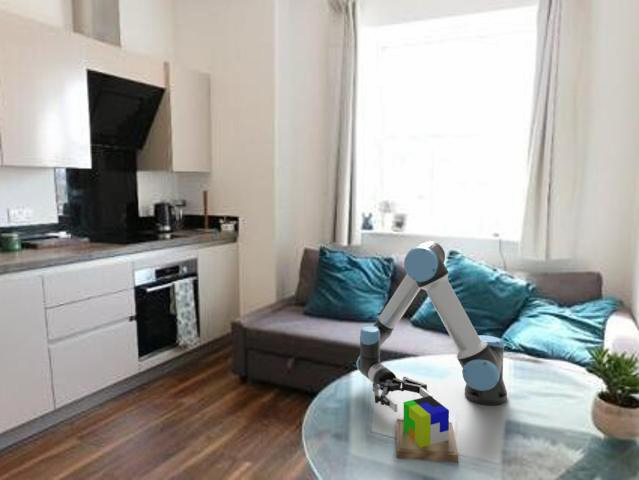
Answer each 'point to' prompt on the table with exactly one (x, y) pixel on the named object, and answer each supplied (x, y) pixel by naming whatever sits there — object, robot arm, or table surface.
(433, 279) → the robot arm
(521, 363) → the table surface
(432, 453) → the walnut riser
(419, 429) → the puzzle toy
